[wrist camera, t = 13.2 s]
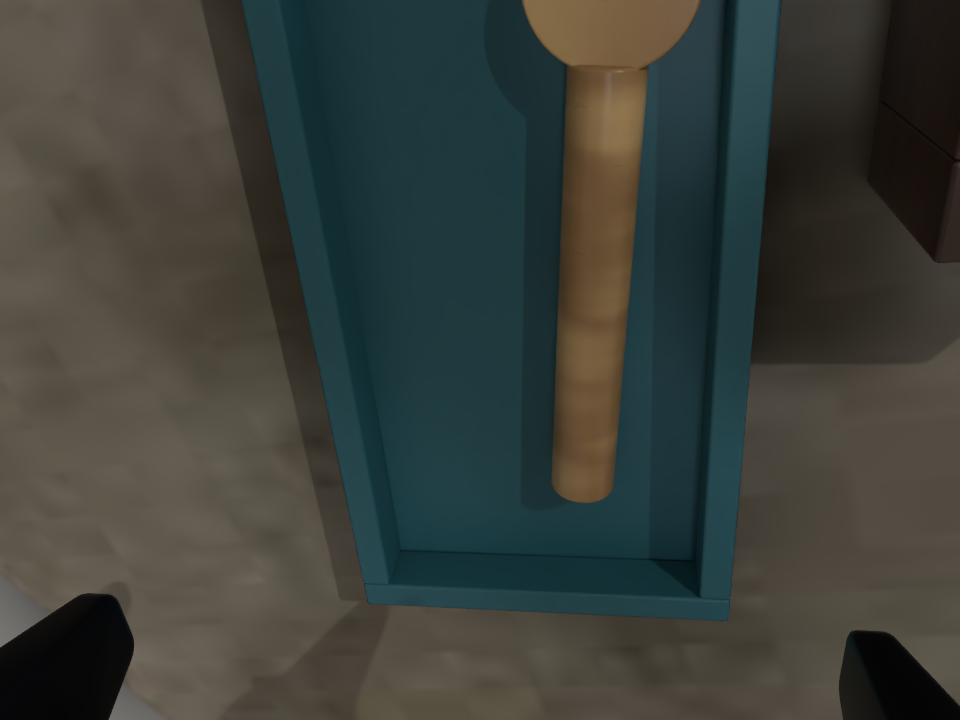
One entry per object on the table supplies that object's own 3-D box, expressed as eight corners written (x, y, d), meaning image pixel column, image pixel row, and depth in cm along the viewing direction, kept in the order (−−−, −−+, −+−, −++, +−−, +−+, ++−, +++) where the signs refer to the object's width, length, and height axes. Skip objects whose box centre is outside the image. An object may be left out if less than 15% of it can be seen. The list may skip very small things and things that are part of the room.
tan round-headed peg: (651, 476, 22) (719, -130, 15) (645, 515, 20) (717, -132, 13) (524, 457, 22) (534, -127, 16) (511, 493, 21) (515, -128, 14)
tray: (720, 567, 24) (729, 622, 22) (384, 554, 26) (366, 605, 24) (786, -309, 14) (811, -337, 12) (235, -235, 16) (185, -251, 14)
